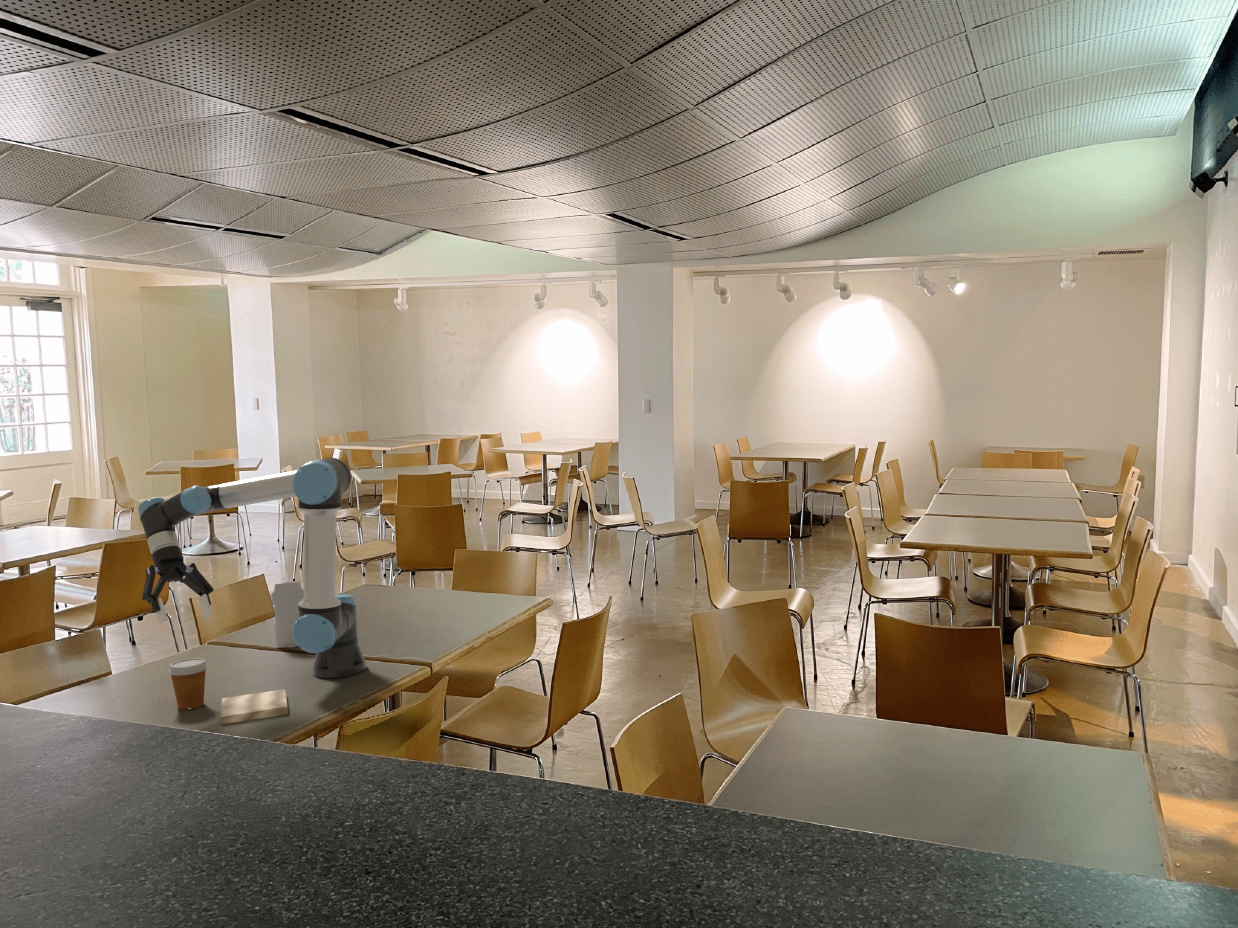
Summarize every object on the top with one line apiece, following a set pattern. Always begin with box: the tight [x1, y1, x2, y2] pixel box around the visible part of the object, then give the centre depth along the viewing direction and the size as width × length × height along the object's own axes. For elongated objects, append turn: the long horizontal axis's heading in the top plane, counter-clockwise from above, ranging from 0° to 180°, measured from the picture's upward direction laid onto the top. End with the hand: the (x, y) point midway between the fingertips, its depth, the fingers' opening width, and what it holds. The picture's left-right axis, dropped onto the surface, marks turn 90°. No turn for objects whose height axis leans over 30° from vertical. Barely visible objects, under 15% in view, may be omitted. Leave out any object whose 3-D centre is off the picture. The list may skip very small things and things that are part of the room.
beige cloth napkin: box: [220, 688, 289, 726], centre depth 243 cm, size 16×16×2 cm
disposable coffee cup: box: [168, 657, 208, 711], centre depth 248 cm, size 10×10×12 cm
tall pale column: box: [270, 580, 304, 649], centre depth 305 cm, size 11×4×22 cm, turn 108°
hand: (186, 619), depth 251 cm, fingers open, 13 cm apart
